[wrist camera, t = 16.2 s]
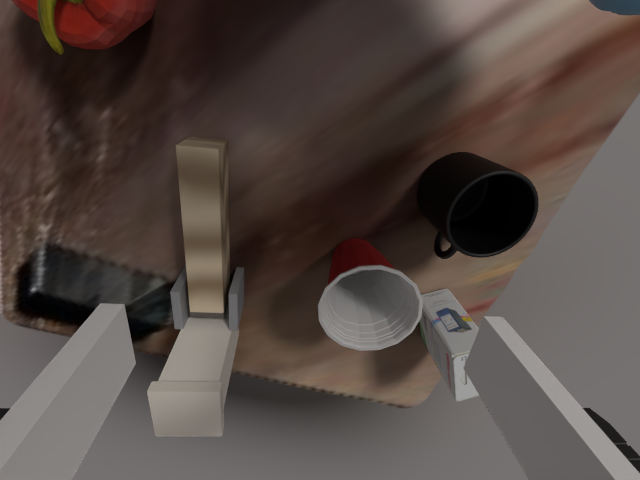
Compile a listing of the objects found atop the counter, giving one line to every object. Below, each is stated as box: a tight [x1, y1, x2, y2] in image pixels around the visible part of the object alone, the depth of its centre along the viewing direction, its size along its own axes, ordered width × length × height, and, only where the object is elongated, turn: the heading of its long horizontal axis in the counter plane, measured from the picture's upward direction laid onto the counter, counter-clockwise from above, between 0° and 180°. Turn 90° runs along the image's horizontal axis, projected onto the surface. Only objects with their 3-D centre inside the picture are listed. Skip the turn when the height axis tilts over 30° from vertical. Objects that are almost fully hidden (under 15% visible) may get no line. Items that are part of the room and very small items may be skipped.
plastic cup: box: [318, 238, 423, 351], centre depth 39 cm, size 11×11×12 cm
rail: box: [176, 137, 230, 318], centre depth 38 cm, size 21×4×5 cm, turn 174°
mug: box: [417, 152, 538, 259], centre depth 37 cm, size 9×12×9 cm
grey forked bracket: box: [147, 265, 244, 437], centre depth 39 cm, size 12×8×15 cm, turn 174°
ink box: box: [419, 289, 479, 401], centre depth 44 cm, size 9×5×12 cm, turn 14°
